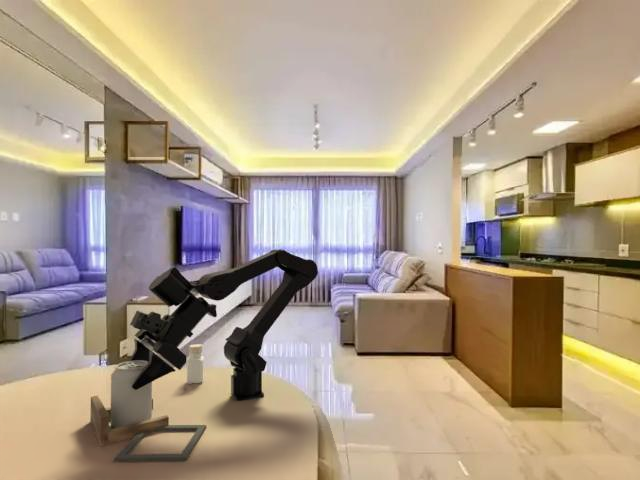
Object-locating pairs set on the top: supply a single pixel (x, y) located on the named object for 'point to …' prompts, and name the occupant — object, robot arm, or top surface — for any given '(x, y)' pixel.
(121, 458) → the holster frame
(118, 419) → the can
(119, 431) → the dock
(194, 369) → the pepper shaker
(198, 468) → the top surface
